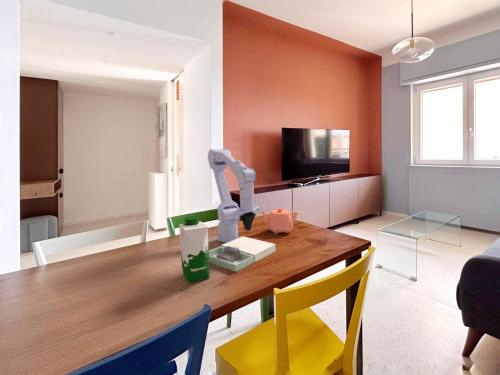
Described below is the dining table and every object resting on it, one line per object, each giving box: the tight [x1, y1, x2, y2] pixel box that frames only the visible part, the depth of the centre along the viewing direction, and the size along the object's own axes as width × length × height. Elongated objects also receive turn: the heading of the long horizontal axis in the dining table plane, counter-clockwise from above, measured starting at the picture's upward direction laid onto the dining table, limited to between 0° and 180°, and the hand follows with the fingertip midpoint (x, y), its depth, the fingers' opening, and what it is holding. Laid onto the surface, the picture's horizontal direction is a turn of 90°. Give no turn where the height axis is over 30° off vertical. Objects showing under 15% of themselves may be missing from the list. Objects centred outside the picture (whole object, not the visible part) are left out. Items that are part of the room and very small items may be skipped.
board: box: [221, 236, 277, 263], centre depth 113 cm, size 18×14×3 cm
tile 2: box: [224, 246, 240, 261], centre depth 105 cm, size 6×4×2 cm
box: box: [209, 246, 255, 273], centre depth 103 cm, size 18×10×3 cm, turn 51°
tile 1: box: [216, 252, 235, 263], centre depth 102 cm, size 6×4×2 cm, turn 51°
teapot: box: [259, 207, 299, 235], centre depth 139 cm, size 13×20×12 cm, turn 97°
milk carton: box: [179, 216, 210, 284], centre depth 90 cm, size 9×9×20 cm
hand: (247, 230), depth 113 cm, fingers closed
